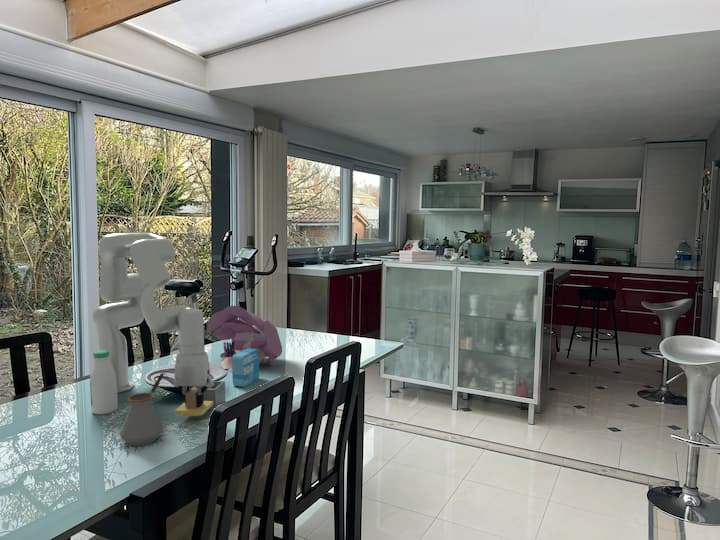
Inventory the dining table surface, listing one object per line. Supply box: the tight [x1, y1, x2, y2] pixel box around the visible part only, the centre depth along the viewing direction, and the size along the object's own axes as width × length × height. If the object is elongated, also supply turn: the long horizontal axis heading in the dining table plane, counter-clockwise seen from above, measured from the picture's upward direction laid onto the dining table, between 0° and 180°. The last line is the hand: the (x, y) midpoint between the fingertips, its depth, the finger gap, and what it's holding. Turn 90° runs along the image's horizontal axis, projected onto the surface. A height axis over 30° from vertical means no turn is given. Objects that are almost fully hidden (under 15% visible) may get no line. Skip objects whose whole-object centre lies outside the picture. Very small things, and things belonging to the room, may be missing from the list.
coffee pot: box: [119, 372, 168, 447], centre depth 151 cm, size 21×12×15 cm, turn 177°
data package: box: [231, 348, 260, 388], centre depth 195 cm, size 12×4×12 cm, turn 161°
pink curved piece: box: [206, 305, 283, 372], centre depth 217 cm, size 35×24×28 cm
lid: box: [174, 387, 213, 417], centre depth 161 cm, size 9×9×7 cm
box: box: [191, 380, 226, 411], centre depth 173 cm, size 8×8×7 cm
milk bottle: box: [89, 350, 119, 415], centre depth 167 cm, size 8×8×20 cm
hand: (194, 405), depth 162 cm, fingers closed on lid, 3 cm apart
